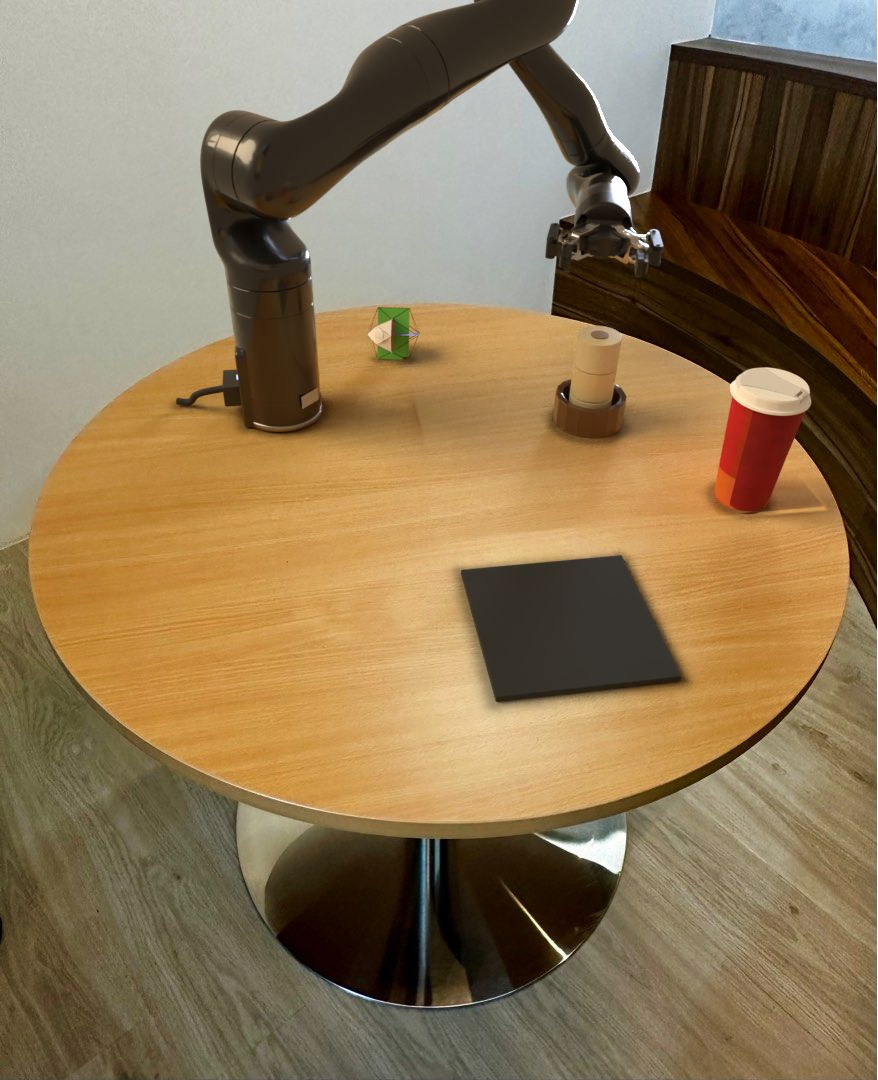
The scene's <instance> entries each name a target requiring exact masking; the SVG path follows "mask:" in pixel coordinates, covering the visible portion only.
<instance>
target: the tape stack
mask: <svg viewBox="0 0 878 1080" xmlns="http://www.w3.org/2000/svg"><path fill="white" fill-rule="evenodd" d="M622 343H623V336H622V334H621V332H619V331H618V330H616V329H614V328H612V327H608V326H604V325H588V326H584V327H582V328H580V329H579V330H578V331H577V334H576V341H575V348H574V349H575V350H574V357H573V365H572V372H571V378H570V379H571V387H570V395H569V402H570V403H572V404H574V405H577V406H580V407H583V408H590V409H602V408H607V407H610V406H611V403H612V397H613V391H614V385H615V384H616V378H617V372H618V366H619V360H620V354H621V349H622V348H621V347H622Z"/></svg>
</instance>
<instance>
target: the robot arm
mask: <svg viewBox="0 0 878 1080" xmlns="http://www.w3.org/2000/svg"><path fill="white" fill-rule="evenodd" d="M578 4H579V0H473V2H472V3H468V4H463V5H459V6H455V7H451V8H447V9H442V10H438V11H435V12H431V13H428V14H425V15H422V16H419V17H416V18H413V19H411V20H409V21H408V22H405V23H403V24H400V25H399V26H397V27H395V28H394V29H392V30H391V31H389V32H388V33H386V34H384V35H383V36H381V37H379V38H377V39H376V40H374V41H373V42H372V43H371V44H369V45H368V46H366V47H365V48H364V49H363V50H362V51H361V52H360V53H359V55H358V56H357V57H356V59H355V60H354V62H353V64H352V66H351V67H350V70H349V71H348V73H347V75H346V78H345V81H344V83H343V84H342V87H341V89H340V90H339V91H338V93H336V94H335V95H334V96H333V97H332V98H330V100H328V101H326V102H324V103H323V104H321V105H319V106H317V107H316V108H315V109H313V110H310V111H309V112H307V113H304V114H302V115H301V116H298V117H296V118H294V119H289V120H284V121H280V120H278V119H273V118H271V117H268V116H265V115H261V114H259V113H255V112H251V111H248V110H241V109H234V110H228V111H225V112H223V113H221V114H220V115H218V116H217V117H215V118H214V119H213V120H212V121H211V122H210V124H209V125H208V126H207V129H206V130H205V133H204V135H203V138H202V142H201V147H200V155H199V167H200V168H199V169H200V170H199V171H200V179H201V185H202V191H203V197H204V202H205V207H206V213H207V216H208V217H207V218H208V223H209V229H210V234H211V240H212V242H213V246H214V249H215V251H216V254H217V255H218V257H219V259H220V261H221V262H222V265H223V268H224V273H225V274H224V275H225V280H226V281H225V282H226V287H227V288H226V289H227V294H228V295H227V296H228V302H229V303H228V304H229V310H230V316H231V325H232V332H233V339H234V360H235V369H223V370H222V384H221V385H215V386H210V387H205V388H201V389H198V390H196V391H193V392H192V393H191V395H190V396H189V397H188V398H184V397H183V398H182V397H176V399H175V403H176V405H177V406H184V407H185V406H193V405H195V403H196V402H197V400H198V399H199V398H202V397H205V396H210V395H215V394H221V393H222V396H223V401H224V403H223V404H224V408H225V407H241V411H242V418H243V419H242V420H243V426H244V428H256V429H258V430H261V431H266V432H272V433H287V432H293V431H298V430H301V429H304V428H307V427H309V426H311V425H313V424H314V423H316V422H317V421H318V420H319V419H320V418H321V416H322V414H323V402H322V393H321V382H320V369H319V356H318V354H319V353H318V343H317V342H318V340H317V339H318V338H317V328H316V327H317V326H316V314H315V301H314V300H315V299H314V290H313V289H314V288H313V286H314V285H313V277H312V276H313V272H312V271H313V270H312V260H311V253H310V250H309V248H308V246H307V245H306V244H305V242H304V241H303V239H301V237H300V236H299V235H298V234H297V233H296V232H295V231H294V229H293V228H292V226H291V225H290V223H289V220H291V219H294V218H297V217H298V216H300V215H301V214H303V213H305V212H306V211H307V210H308V209H310V208H312V206H314V205H315V204H316V203H317V202H319V201H320V200H321V199H322V198H323V197H324V196H325V195H327V194H328V193H329V192H330V191H331V190H332V189H333V188H334V187H335V186H337V185H338V184H339V183H340V182H341V181H342V180H343V179H344V178H345V177H346V176H348V175H350V173H351V172H352V171H354V170H355V169H356V168H358V166H360V165H361V164H362V163H364V162H365V161H366V160H368V159H370V158H371V157H372V156H374V155H375V154H377V153H378V152H380V151H381V150H382V149H383V148H386V147H387V146H388V145H390V144H391V143H392V142H394V141H395V140H396V139H398V138H399V137H400V136H402V135H403V134H405V133H407V132H408V131H410V130H411V129H413V128H415V127H417V126H418V125H421V124H422V123H423V122H425V121H426V120H428V119H429V118H430V117H432V116H433V115H435V114H436V113H437V112H439V111H441V110H442V109H443V108H445V107H446V106H448V105H449V104H450V103H451V102H453V101H454V100H455V99H456V98H458V97H460V96H461V95H463V94H465V93H466V92H467V91H470V89H472V88H473V87H475V86H477V85H478V84H480V83H481V82H483V81H484V80H485V79H486V78H488V77H490V76H491V75H493V74H495V72H497V71H498V70H500V69H501V68H503V67H505V66H507V65H508V66H509V67H510V69H511V71H513V72H514V75H516V76H517V78H518V79H519V81H520V82H521V83H522V85H523V87H524V88H525V89H526V91H527V92H528V93H529V95H530V96H531V98H532V99H533V101H534V103H535V104H536V105H537V107H538V109H539V111H540V112H541V115H543V116H542V117H543V119H544V120H545V122H546V123H547V125H548V127H549V130H550V132H551V134H552V136H553V138H554V140H555V143H556V145H557V146H558V149H559V151H560V153H561V155H562V157H563V159H564V160H565V161H566V162H567V163H568V164H570V165H571V166H573V167H572V168H571V169H570V170H569V172H568V173H567V175H566V179H565V188H566V192H567V195H568V198H569V201H570V202H571V203H572V205H573V206H574V207H575V210H574V219H573V227H572V228H571V229H570V230H568V229H564V227H561V224H560V223H558V222H552V223H550V224H549V225H550V226H549V228H548V231H547V232H548V233H547V236H546V244H545V255H544V258H545V259H548V260H553V259H555V258H556V257H557V258H558V259H559V260H558V267H559V268H560V269H563V272H564V273H571V266H572V265H571V264H572V260H574V261H576V262H577V261H582V260H584V259H586V258H588V257H589V258H592V259H596V260H608V259H616V260H618V261H619V262H621V263H623V264H624V265H628V264H632V265H633V267H634V277H635V278H642V275H646V274H648V271H649V265H651V266H653V267H660V266H661V264H662V263H661V262H662V261H661V260H662V254H663V250H664V246H665V245H664V242H663V239H662V236H661V233H660V231H659V230H658V229H655V228H652V229H649V231H648V232H647V233H646V234H638V232H637V231H636V230H634V228H633V226H634V225H633V215H632V207H631V206H632V205H631V203H630V200H629V196H631V195H632V194H634V193H635V192H636V190H637V189H638V187H639V183H640V180H641V179H640V178H641V175H640V169H639V166H638V162H637V161H636V160H635V157H634V156H633V154H631V152H630V151H629V149H627V148H626V146H624V145H623V143H621V142H620V141H619V140H618V138H616V137H615V136H614V134H613V133H612V132H611V130H610V129H609V126H608V125H607V122H606V119H605V117H604V115H603V112H602V110H601V107H600V104H599V102H598V100H597V99H596V96H595V94H594V93H593V91H592V89H591V88H590V87H589V85H588V84H587V82H585V80H584V79H583V78H582V77H581V76H580V75H579V74H578V73H577V72H576V71H575V70H574V69H573V68H572V67H571V66H570V65H569V64H568V63H567V61H565V60H564V59H563V58H562V56H561V55H560V54H559V53H558V52H557V50H555V49H554V48H553V46H552V45H551V43H553V42H554V41H556V40H557V39H558V38H559V37H560V36H561V35H562V34H563V33H564V32H565V30H566V29H567V28H568V27H569V25H570V23H571V21H572V20H573V18H574V16H575V14H576V10H577V7H578Z"/></svg>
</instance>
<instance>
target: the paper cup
mask: <svg viewBox="0 0 878 1080" xmlns="http://www.w3.org/2000/svg"><path fill="white" fill-rule="evenodd" d="M729 390H730V395H731V400H730V405H729V411H728V416H727V421H726V427H725V430H724V431H725V432H724V437H723V442H722V446H721V452H720V457H719V463H718V467H717V473H716V478H715V484H714V496H715V498H716V499H717V500H718V501H719V502H720V503H721V504H723V505H725V506H726V507H728V508H731V509H732V510H733V509H734V510H735V511H736V510H737V511H742V512H739V514H741V515H755V514H758V513H760V512H761V510H763V509H764V508H765V507H766V506H767V505H768V503H769V501H770V500H771V497H772V494H773V492H774V490H775V487H776V485H777V481H778V479H779V477H780V475H781V471H782V470H783V467H784V464H785V462H786V460H787V458H788V455H789V452H790V450H791V447H792V445H793V443H794V441H795V438H796V435H797V434H798V431H799V428H800V425H801V422H802V421H803V417H804V414H805V413H806V412H807V411H808V410H809V409H810V407H811V405H812V398H811V395H810V394H811V389H810V386H809V385H808V383H807V382H806V380H804V379H803V378H802V377H801V376H799V375H797V374H795V373H792V372H790V371H788V370H784V369H781V368H775V367H767V366H766V367H753V368H748V369H746V370H745V371H743V372H742V373H740V374H739V375H738V376H736V378H735V380H733V381H732V382H731V383H730V385H729Z"/></svg>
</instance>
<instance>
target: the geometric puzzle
mask: <svg viewBox="0 0 878 1080" xmlns="http://www.w3.org/2000/svg"><path fill="white" fill-rule="evenodd" d="M376 315H377V325H375V326H374V327H373V325H374V321H375V318H376ZM410 315H411V316H413V313H412V311H411V307H394V306H393V307H389V306H377V308H376V311H375V314H374V315H373V319H372V320H371V325H370V326H369V327H368V328H369V330H368V331H367V332H366V333H365V335H366V336H367V338H368V341H369V342H372V346H373V348H372V350H373V351H374V353H375V356H376V360H397V361H398V360H401V361H403V360H404V359H405V360H406V359H407V358H411V354H412V353H413V351H414V348H415V346H416V343H417V341H418V338H419V336H420V333H421V332H420V331H419V328H418V327H417V326H416V325H417V324H416V322H415V318H414V317H411V318H412V321H413V325H414V327H413V326H410ZM410 328H411V329H413V330H414V331H415V332H414V331H412V330H410ZM370 340H371V341H370ZM413 340H415V341H414V345H413V347H412V349H411V352H410V342H411V341H413ZM375 346H377V351H376V348H375Z"/></svg>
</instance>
